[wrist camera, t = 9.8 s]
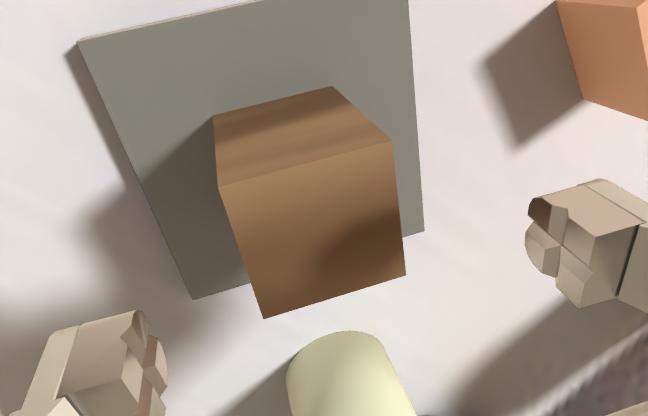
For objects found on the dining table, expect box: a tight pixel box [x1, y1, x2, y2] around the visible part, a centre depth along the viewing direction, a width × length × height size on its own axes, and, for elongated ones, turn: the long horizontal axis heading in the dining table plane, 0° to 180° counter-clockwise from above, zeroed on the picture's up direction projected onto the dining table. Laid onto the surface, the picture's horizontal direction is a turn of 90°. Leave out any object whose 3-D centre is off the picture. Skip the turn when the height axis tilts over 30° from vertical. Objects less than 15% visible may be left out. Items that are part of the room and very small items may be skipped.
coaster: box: [76, 0, 424, 300], centre depth 17 cm, size 11×11×1 cm
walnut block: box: [213, 86, 406, 319], centre depth 15 cm, size 4×4×6 cm
